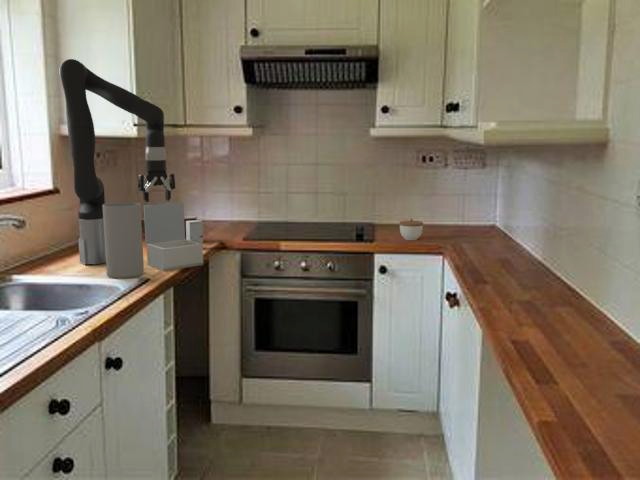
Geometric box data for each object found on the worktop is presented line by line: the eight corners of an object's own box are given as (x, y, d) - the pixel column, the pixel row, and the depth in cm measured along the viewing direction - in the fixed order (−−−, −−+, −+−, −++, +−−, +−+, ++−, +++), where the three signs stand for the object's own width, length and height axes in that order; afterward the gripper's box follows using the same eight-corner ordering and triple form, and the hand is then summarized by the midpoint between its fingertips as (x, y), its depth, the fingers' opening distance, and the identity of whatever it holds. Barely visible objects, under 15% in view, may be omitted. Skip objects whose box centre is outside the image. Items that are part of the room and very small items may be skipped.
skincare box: (190, 250, 271) (189, 222, 269) (186, 249, 274) (185, 220, 272) (204, 249, 274) (202, 220, 272) (199, 247, 278) (198, 219, 276)
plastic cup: (199, 240, 295) (198, 214, 293) (197, 244, 284) (196, 217, 282) (175, 241, 294) (174, 214, 292) (172, 245, 283) (171, 218, 281)
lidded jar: (401, 236, 303) (401, 216, 301) (424, 237, 300) (424, 217, 298) (397, 240, 292) (397, 219, 291) (421, 241, 290) (421, 220, 288)
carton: (163, 271, 233) (162, 249, 231) (147, 264, 243) (146, 243, 242) (203, 265, 242) (202, 244, 241) (186, 259, 253) (185, 239, 252)
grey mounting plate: (144, 205, 239) (138, 204, 244) (146, 243, 242) (140, 241, 246) (183, 202, 249) (176, 201, 254) (185, 239, 252) (178, 237, 256)
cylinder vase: (147, 270, 233) (144, 202, 229) (139, 278, 221) (135, 206, 216) (113, 271, 233) (108, 202, 228) (102, 279, 221) (97, 206, 216)
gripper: (142, 159, 239) (144, 203, 242) (177, 158, 248) (178, 200, 251) (134, 159, 245) (135, 201, 248) (168, 158, 254) (170, 199, 256)
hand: (157, 201), depth 249 cm, fingers open, 8 cm apart
